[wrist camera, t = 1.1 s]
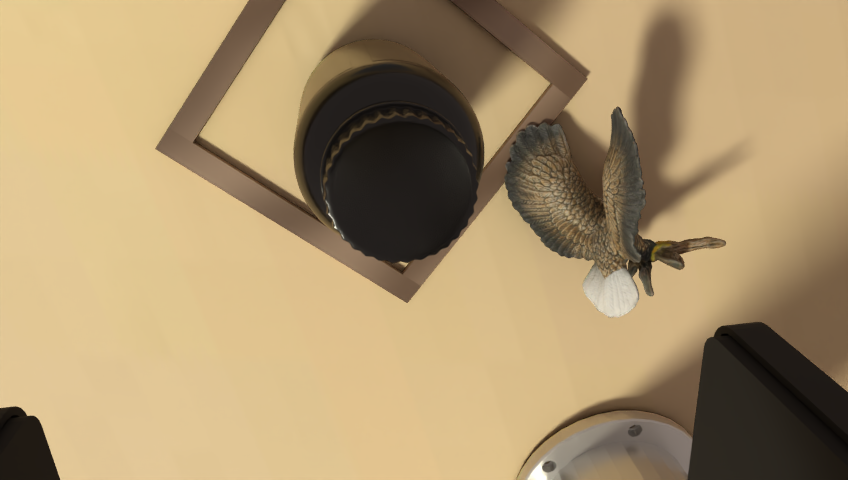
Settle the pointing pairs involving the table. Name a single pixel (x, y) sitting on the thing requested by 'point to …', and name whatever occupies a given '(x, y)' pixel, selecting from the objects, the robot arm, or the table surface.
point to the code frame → (225, 176)
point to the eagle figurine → (591, 212)
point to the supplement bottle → (387, 151)
